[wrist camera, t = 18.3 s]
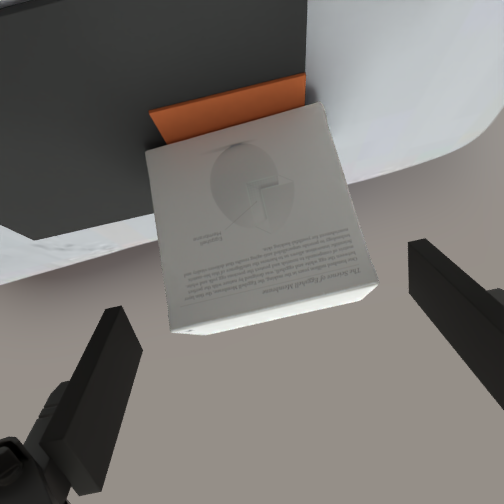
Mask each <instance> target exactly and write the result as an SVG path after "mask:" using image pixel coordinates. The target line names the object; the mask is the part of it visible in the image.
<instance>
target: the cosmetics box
mask: <svg viewBox="0 0 504 504" xmlns="http://www.w3.org/2000/svg"><path fill="white" fill-rule="evenodd" d="M145 156H146V163H147V168H148V174H149V180H150V187H151V195H152V201H153V208H154V215H155V222H156V229H157V236H158V242H159V250H160V257H161V264H162V271H163V278H164V284H165V291H166V297H167V305H168V317H169V326H170V331H171V332H172V333H185V334H195V335H209V334H213V333H218V332H222V331H227V330H231V329H236V328H240V327H244V326H248V325H253V324H257V323H262V322H266V321H270V320H275V319H280V318H284V317H288V316H293V315H297V314H302V313H306V312H311V311H315V310H320V309H324V308H328V307H333V306H338V305H343V304H347V303H352V302H356V301H360V300H362V299H363V298H364V297H365V296H366V295H367V294H368V293H369V292H371V290H373V289H374V288H375V287H376V286H377V285H378V284H379V280H378V277H377V274H376V271H375V269H374V266H373V264H372V262H371V259H370V256H369V253H368V249H367V246H366V243H365V240H364V236H363V233H362V230H361V227H360V224H359V221H358V218H357V215H356V212H355V208H354V205H353V202H352V199H351V195H350V193H349V189H348V186H347V183H346V179H345V176H344V173H343V170H342V167H341V163H340V160H339V157H338V154H337V151H336V148H335V145H334V142H333V139H332V136H331V133H330V130H329V127H328V124H327V116H326V112H325V108H324V105H323V104H322V103H321V102H316V103H313V104H310V105H306V106H303V107H299V108H296V109H292V110H289V111H285V112H282V113H278V114H275V115H271V116H268V117H264V118H261V119H257V120H253V121H250V122H246V123H243V124H239V125H236V126H232V127H229V128H225V129H222V130H218V131H214V132H211V133H207V134H204V135H200V136H197V137H193V138H190V139H187V140H183V141H180V142H176V143H172V144H169V145H165V146H161V147H157V148H154V149H151V150H148V151H146V152H145Z"/></svg>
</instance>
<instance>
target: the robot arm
mask: <svg viewBox="0 0 504 504" xmlns="http://www.w3.org/2000/svg"><path fill="white" fill-rule="evenodd" d="M408 267H409V294H410V295H411V296H412V297H413V299H414V300H415V301H416V302H417V304H418V305H419V306H420V307H421V309H422V310H423V311H424V312H425V313H426V315H427V316H428V317H429V318H430V320H431V321H432V322H433V323H434V325H435V326H436V327H437V328H438V329H439V331H440V332H441V333H442V334H443V336H444V337H445V338H446V339H447V341H448V342H449V343H450V344H451V346H452V347H453V348H454V349H455V350H456V351H457V353H458V354H459V355H460V357H461V358H462V359H463V360H464V362H465V363H466V364H467V365H468V367H469V368H470V369H471V370H472V371H473V373H474V374H475V375H476V376H477V377H478V379H479V380H480V381H481V383H482V384H483V385H484V386H485V387H486V389H487V390H488V391H489V392H490V394H491V395H492V396H493V397H494V399H495V400H496V401H497V402H498V404H499V405H500V406H501V407H502V409H503V410H504V290H502V289H500V288H497V289H493V290H488V291H486V290H485V289H484V288H483V287H481V286H480V285H479V284H478V283H477V282H476V281H474V280H473V279H472V278H471V277H470V276H469V275H467V274H466V273H465V272H464V271H463V270H461V269H460V268H459V267H458V266H457V265H456V264H455V263H453V262H452V261H451V260H450V259H449V258H447V257H446V256H445V255H444V254H443V253H442V252H441V251H439V250H438V249H437V248H436V247H435V246H433V245H432V244H431V243H430V242H429V241H428V240H427V239H420V240H416V241H411V242H408ZM142 352H143V349H142V348H141V345H140V343H139V341H138V339H137V337H136V335H135V333H134V330H133V329H132V326H131V324H130V322H129V320H128V318H127V316H126V314H125V312H124V309H123V307H122V306H117V307H113V308H108V309H105V311H104V313H103V315H102V317H101V319H100V321H99V323H98V325H97V327H96V329H95V331H94V334H93V335H92V337H91V340H90V341H89V343H88V345H87V347H86V349H85V351H84V353H83V355H82V357H81V360H80V361H79V363H78V365H77V367H76V370H75V371H74V373H73V375H72V377H71V379H70V381H66V382H62V383H60V385H59V386H58V387H57V388H56V389H55V390H54V391H53V392H52V393H51V394H50V396H49V398H48V400H47V402H46V404H45V406H44V409H42V411H41V413H40V415H39V419H37V420H36V422H35V424H34V426H33V428H32V430H31V431H30V433H29V435H28V437H27V439H26V441H25V443H24V445H22V443H21V442H20V441H19V440H18V439H17V438H16V437H7V438H3V439H1V440H0V504H70V502H69V501H68V500H67V496H68V493H69V490H70V488H71V486H72V487H73V489H74V490H75V492H76V493H77V494H78V495H79V496H82V495H86V494H92V493H97V492H101V491H102V488H103V485H104V481H105V478H106V474H107V471H108V467H109V464H110V461H111V457H112V454H113V450H114V447H115V443H116V440H117V437H118V433H119V430H120V427H121V423H122V420H123V416H124V413H125V410H126V406H127V402H128V399H129V396H130V393H131V389H132V386H133V382H134V379H135V375H136V372H137V369H138V365H139V362H140V358H141V355H142Z"/></svg>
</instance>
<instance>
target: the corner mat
mask: <svg viewBox="0 0 504 504" xmlns="http://www.w3.org/2000/svg"><path fill="white" fill-rule="evenodd" d="M306 27H307V0H32V1H28V2H25V3H21V4H17V5H13V6H10V7H6V8H2V9H0V225H2V226H4V227H6V228H9V229H11V230H13V231H15V232H17V233H19V234H21V235H24V236H26V237H28V238H30V239H32V240H39V239H44V238H48V237H52V236H57V235H61V234H65V233H70V232H74V231H78V230H83V229H87V228H91V227H96V226H100V225H104V224H109V223H113V222H117V221H122V220H126V219H130V218H135V217H139V216H143V215H148V214H152V213H154V208H153V201H152V195H151V187H150V180H149V174H148V168H147V163H146V156H145V152H146V151H148V150H151V149H154V148H157V147H161V146H165V145H169V144H172V143H176V142H180V141H183V140H187V139H190V138H193V137H197V136H200V135H204V134H207V133H211V132H214V131H218V130H222V129H225V128H229V127H232V126H236V125H239V124H243V123H246V122H250V121H253V120H257V119H261V118H264V117H268V116H271V115H275V114H278V113H282V112H285V111H289V110H292V109H296V108H299V107H303V106H305V87H306V74H305V55H306Z"/></svg>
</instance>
